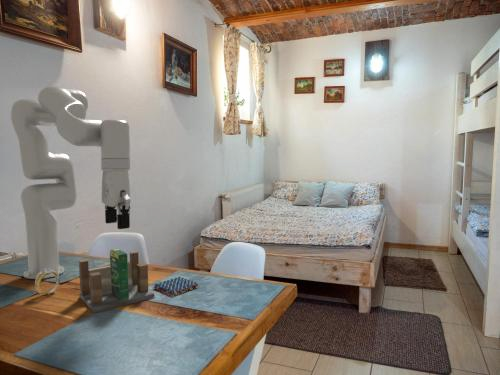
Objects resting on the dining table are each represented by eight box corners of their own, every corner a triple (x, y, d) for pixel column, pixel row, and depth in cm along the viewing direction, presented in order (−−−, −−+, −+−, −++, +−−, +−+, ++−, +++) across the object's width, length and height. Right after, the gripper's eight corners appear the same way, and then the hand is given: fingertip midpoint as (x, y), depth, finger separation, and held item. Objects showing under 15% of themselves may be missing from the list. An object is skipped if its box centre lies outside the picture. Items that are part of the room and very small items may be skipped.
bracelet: (38, 298, 110) (37, 271, 110) (33, 295, 112) (32, 269, 112) (62, 291, 116) (61, 266, 115) (57, 289, 118) (56, 264, 117)
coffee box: (110, 292, 111) (109, 249, 110) (120, 290, 113) (119, 247, 112) (119, 301, 105) (117, 255, 104) (129, 299, 107) (128, 253, 105)
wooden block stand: (79, 297, 111) (77, 260, 110) (135, 284, 122) (134, 250, 121) (94, 312, 100) (92, 271, 99) (154, 297, 111) (153, 260, 110)
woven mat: (151, 290, 118) (151, 283, 118) (179, 281, 126) (178, 275, 126) (172, 298, 111) (171, 292, 111) (199, 289, 119) (199, 282, 119)
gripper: (92, 164, 110) (94, 222, 111) (113, 166, 96) (114, 232, 98) (118, 163, 114) (119, 219, 116) (141, 166, 101) (142, 229, 103)
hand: (117, 225), depth 107 cm, fingers open, 9 cm apart
